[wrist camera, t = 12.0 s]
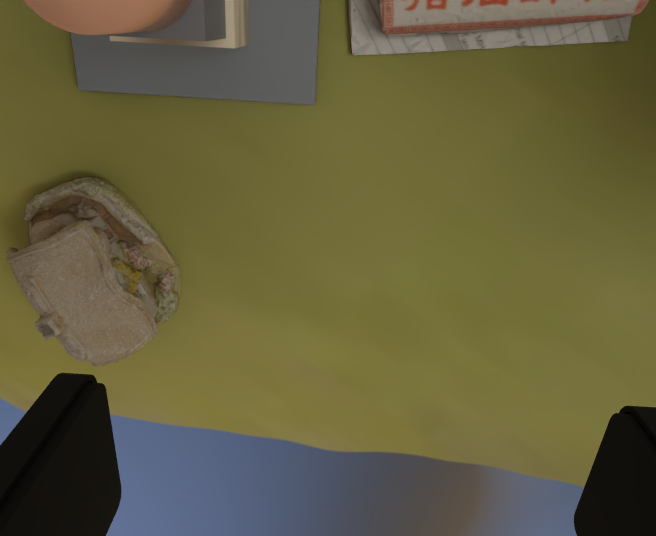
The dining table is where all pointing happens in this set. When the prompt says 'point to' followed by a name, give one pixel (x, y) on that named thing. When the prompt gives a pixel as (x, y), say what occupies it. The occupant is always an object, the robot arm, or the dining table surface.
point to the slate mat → (214, 60)
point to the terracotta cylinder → (109, 14)
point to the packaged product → (485, 24)
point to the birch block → (234, 39)
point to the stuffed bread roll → (95, 271)
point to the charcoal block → (192, 24)
